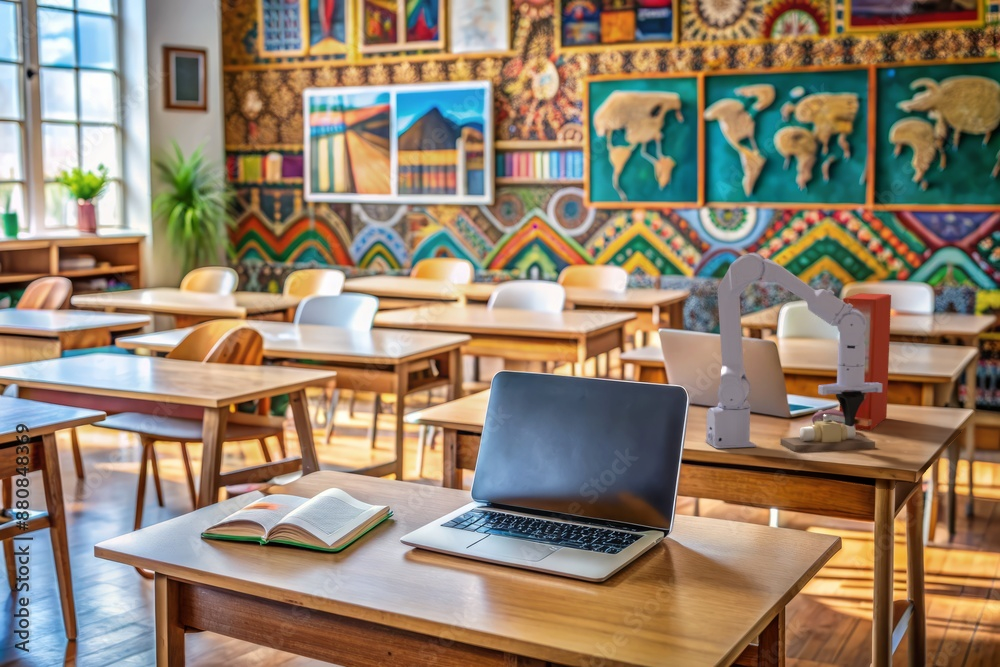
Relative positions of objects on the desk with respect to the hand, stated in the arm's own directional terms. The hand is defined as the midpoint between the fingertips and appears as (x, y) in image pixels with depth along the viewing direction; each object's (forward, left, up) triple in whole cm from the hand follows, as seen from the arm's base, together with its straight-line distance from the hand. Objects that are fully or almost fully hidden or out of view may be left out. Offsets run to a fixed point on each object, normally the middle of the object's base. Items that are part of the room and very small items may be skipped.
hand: (849, 425), depth 239 cm
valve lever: (+1, +3, 0) cm, 3 cm away
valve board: (-2, +6, -6) cm, 9 cm away
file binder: (+19, +30, -6) cm, 36 cm away
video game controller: (+7, +21, -6) cm, 23 cm away
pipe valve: (-2, +6, -6) cm, 9 cm away
